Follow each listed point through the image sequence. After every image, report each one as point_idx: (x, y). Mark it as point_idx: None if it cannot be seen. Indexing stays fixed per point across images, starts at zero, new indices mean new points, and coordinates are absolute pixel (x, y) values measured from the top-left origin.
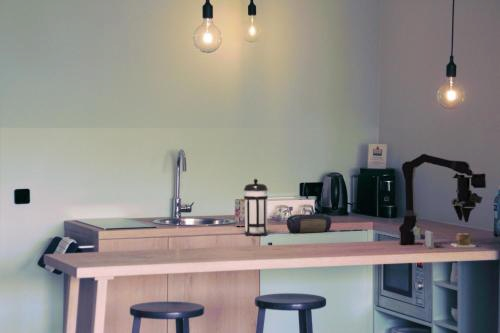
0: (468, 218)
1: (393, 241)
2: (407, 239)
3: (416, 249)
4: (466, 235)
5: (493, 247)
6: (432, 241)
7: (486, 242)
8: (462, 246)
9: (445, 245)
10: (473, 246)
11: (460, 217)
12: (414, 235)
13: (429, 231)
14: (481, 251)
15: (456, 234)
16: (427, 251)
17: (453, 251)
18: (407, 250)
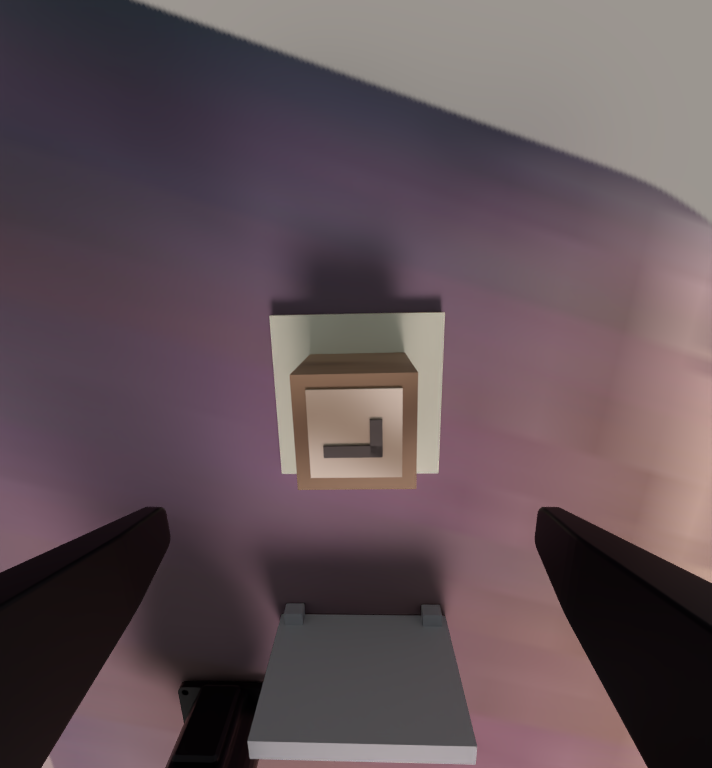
0: (636, 550)
1: (86, 744)
2: (257, 759)
3: (493, 714)
4: (417, 411)
5: (457, 136)
6: (456, 669)
7: (52, 80)
8: (439, 425)
9: (293, 507)
10: (441, 332)
11: (131, 571)
12: (220, 752)
13: (340, 747)
14: (704, 340)
15: (305, 484)
16: (601, 682)
17: (644, 540)
18: (530, 762)
